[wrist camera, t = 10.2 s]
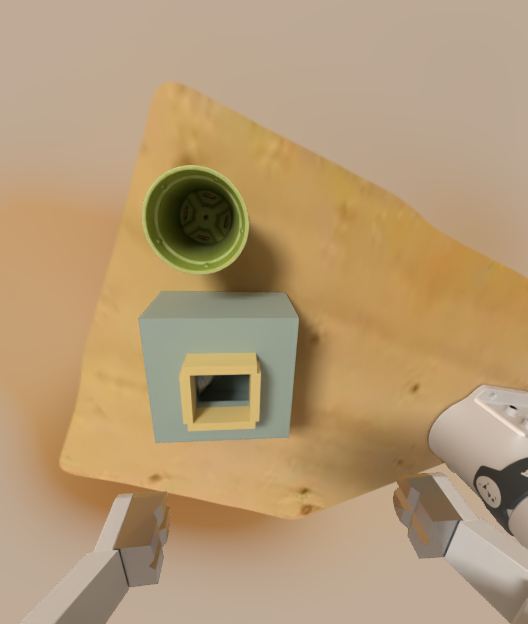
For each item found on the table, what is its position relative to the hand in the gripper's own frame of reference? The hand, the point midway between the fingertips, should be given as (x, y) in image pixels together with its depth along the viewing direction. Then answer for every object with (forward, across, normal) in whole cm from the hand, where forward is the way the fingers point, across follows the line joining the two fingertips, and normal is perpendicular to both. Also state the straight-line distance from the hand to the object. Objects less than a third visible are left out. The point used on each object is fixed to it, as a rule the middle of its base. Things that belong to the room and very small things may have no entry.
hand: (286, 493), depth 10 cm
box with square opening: (+29, +3, +10) cm, 30 cm away
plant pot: (+29, +5, -8) cm, 30 cm away
